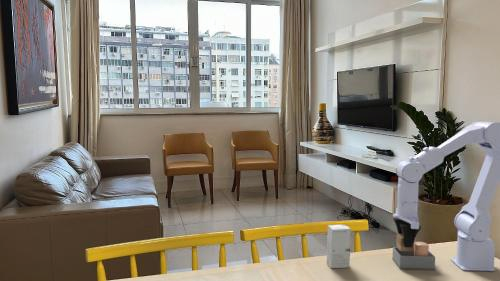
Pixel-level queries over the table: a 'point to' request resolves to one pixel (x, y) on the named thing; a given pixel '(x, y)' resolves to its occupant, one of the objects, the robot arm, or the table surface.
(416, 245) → the cylinder
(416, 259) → the tote
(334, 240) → the skincare box
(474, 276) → the table surface
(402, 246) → the cube
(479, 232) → the robot arm
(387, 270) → the table surface
